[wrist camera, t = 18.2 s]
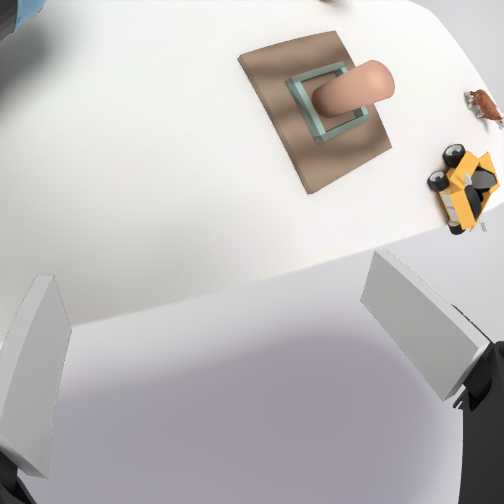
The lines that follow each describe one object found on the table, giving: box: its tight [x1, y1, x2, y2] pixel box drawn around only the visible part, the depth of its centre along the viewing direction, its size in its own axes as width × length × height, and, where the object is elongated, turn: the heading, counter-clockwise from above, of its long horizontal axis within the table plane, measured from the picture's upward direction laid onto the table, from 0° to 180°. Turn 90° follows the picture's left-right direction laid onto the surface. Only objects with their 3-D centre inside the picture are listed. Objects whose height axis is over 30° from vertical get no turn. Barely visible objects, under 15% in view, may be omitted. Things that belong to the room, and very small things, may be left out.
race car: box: [428, 144, 500, 235], centre depth 50 cm, size 15×15×11 cm
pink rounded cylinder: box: [312, 60, 395, 118], centre depth 35 cm, size 5×5×12 cm
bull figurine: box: [465, 90, 504, 130], centre depth 51 cm, size 4×13×8 cm, turn 64°
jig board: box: [238, 31, 392, 194], centre depth 40 cm, size 22×18×4 cm
